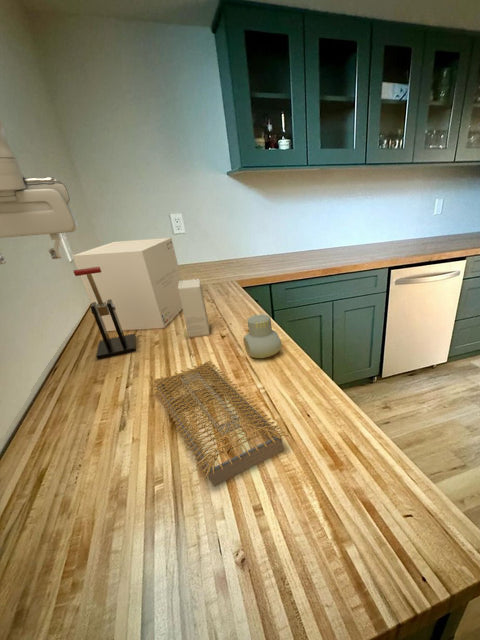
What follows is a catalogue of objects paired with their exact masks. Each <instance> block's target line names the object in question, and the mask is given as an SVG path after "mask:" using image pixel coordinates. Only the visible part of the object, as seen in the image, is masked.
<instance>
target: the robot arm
mask: <svg viewBox="0 0 480 640" xmlns="http://www.w3.org/2000/svg"><path fill="white" fill-rule="evenodd" d="M68 191H69V190H68V189H67V186H66V184H64V183H63V182H61V180H57V179H55V178H54V177H52V176H51V177H50V176H45V177H25V176H24V174H23V170H22V168H21V166H20V164H19V161H18V159H17V156H16V154H15V153H14V151H13V150H12V148H11V146H10V145H9V143H8V141H7V137H6V129H5V126H4V124H3V121H2V118H1V117H0V239H3V238H4V239H5V238H16V237H28V236H29V237H31V236H42V235H49V237H50V239H51V241H54V244H53V247H50V248H49V249H48V252H49V254H50V257H51V259H52V260H57V259H58V260H59V259H62V258H63V254H62V252H61V249H60V247H61V242H62V239H63V237H62V235H61V234H67V233H74V232H76V231H77V229H78V227H79V224H78V220H77V218H76V216H75V213H74V211H73V210H72V207H71V205H70V204H69V203H70V195H69V192H68ZM6 263H7V261H6V259H5V257H4V255H3V253H2V252H0V265H5V264H6Z"/></svg>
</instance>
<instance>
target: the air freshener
mask: <svg viewBox="0 0 480 640" xmlns="http://www.w3.org/2000/svg"><path fill="white" fill-rule="evenodd" d="M247 327H248V328H247V329H248V333H247V334H246V335H244V337H243V338H242V340H243V345H244V348H245V351H246V353H247V355H248V356H250V357H252V358H255V359H266V358H269V357H272V356H274V355H276V354H277V353H279V352H280V351H281V349H282V347H283V346H282V341H281V338H280V335H279V334H278V333H277V331H275V330H273V328H272V319H271V317H270V316H269V315H268V314H264V313H263V314H255V315H252V316H250V317H248V318H247Z"/></svg>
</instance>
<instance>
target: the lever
mask: <svg viewBox="0 0 480 640" xmlns="http://www.w3.org/2000/svg"><path fill="white" fill-rule="evenodd" d="M100 272H101V269H100V267H94V268H87V269H79V270H78V269H74V270H73V274H74V277H79V276H80V275H87V278H88V280H89V282H90V285H91V287H92V289H93V292H94V294H95V297H96V299H97V301H98V304H97V308H98V311H99V313H100V315H101V316H105V315H109V309H108V307H107V304H106V302H104V303H103V301H102V298H101V296H100V293H99V291H98V288H97V286H96V284H95V281H94V279H93V276H92V274H94V273H100Z"/></svg>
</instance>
